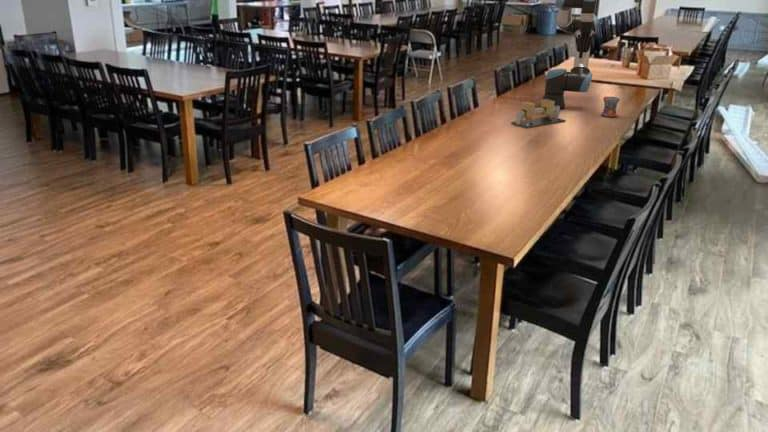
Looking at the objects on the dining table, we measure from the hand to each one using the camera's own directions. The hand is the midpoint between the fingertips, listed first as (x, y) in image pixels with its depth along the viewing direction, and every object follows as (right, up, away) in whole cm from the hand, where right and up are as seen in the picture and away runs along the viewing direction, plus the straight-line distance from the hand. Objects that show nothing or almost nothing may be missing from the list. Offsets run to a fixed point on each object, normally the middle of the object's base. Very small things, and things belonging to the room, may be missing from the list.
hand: (581, 63), depth 349 cm
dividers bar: (-26, -34, -8) cm, 44 cm away
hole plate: (-26, -35, -8) cm, 45 cm away
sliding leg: (-21, -33, -5) cm, 39 cm away
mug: (+20, -28, +11) cm, 36 cm away
